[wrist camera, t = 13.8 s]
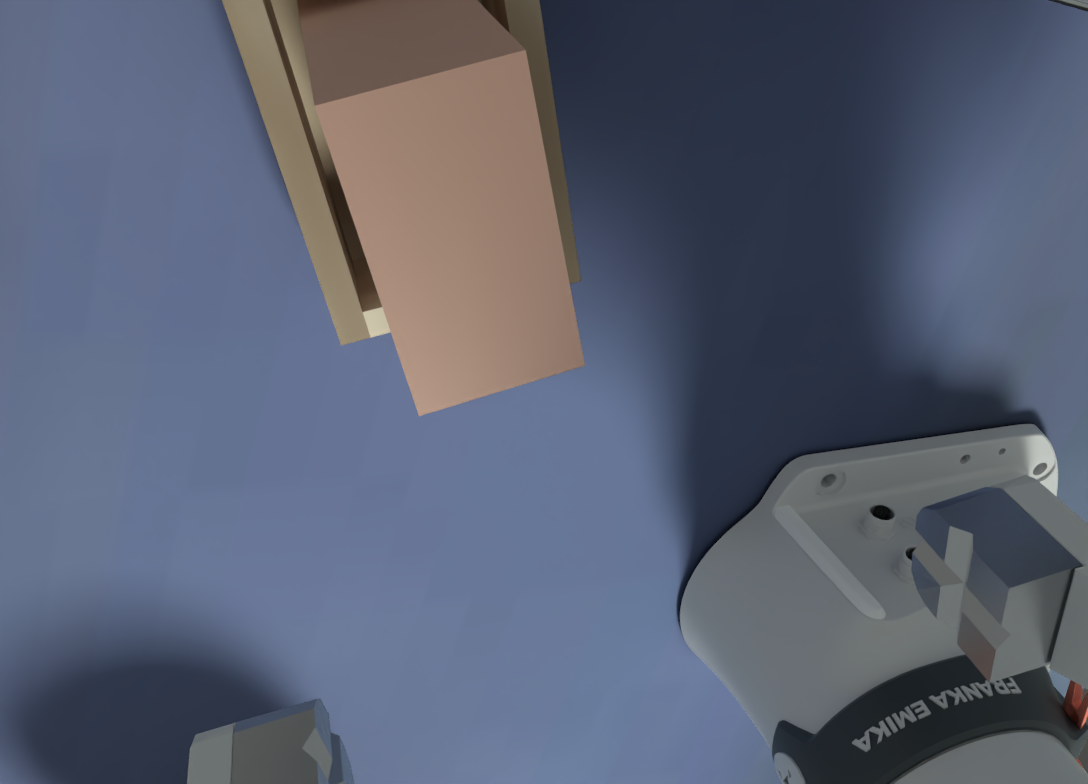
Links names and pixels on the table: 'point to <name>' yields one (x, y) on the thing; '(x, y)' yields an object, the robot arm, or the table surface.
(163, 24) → the table surface
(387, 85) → the peach block
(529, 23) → the slot holder
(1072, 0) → the candy bar box
